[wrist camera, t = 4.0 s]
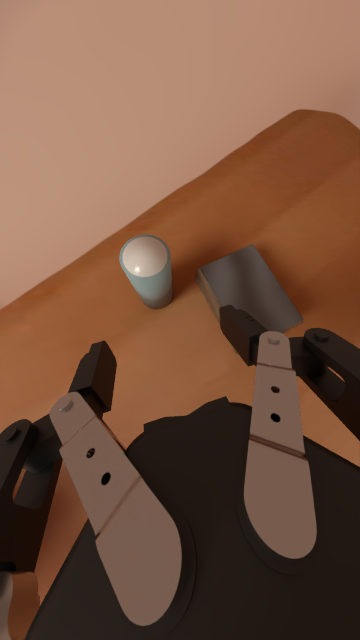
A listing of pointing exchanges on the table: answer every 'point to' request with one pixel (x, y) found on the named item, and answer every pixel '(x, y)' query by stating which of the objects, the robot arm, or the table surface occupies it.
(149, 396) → the table surface
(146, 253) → the ceramic tumbler
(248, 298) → the dark grey slab
